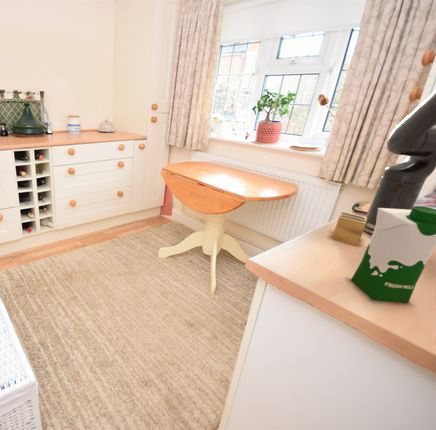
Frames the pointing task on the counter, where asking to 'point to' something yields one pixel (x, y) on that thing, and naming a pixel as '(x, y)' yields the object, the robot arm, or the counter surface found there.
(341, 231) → the tan block
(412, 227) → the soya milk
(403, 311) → the counter surface
